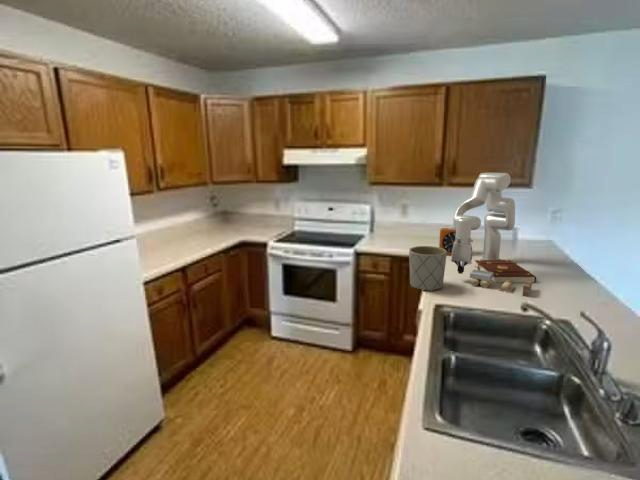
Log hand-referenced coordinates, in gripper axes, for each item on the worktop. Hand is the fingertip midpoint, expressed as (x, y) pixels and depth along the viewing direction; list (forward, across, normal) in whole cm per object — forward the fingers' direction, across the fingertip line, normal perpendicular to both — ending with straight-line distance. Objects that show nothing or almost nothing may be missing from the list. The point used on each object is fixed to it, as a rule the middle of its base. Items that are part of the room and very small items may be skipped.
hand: (460, 273), depth 209 cm
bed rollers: (+5, -17, 0) cm, 18 cm away
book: (+6, -17, -26) cm, 32 cm away
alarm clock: (+5, +20, -54) cm, 58 cm away
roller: (+5, -24, 0) cm, 25 cm away
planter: (+5, +13, +17) cm, 22 cm away
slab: (+1, -11, 0) cm, 11 cm away
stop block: (+5, -33, 0) cm, 33 cm away
